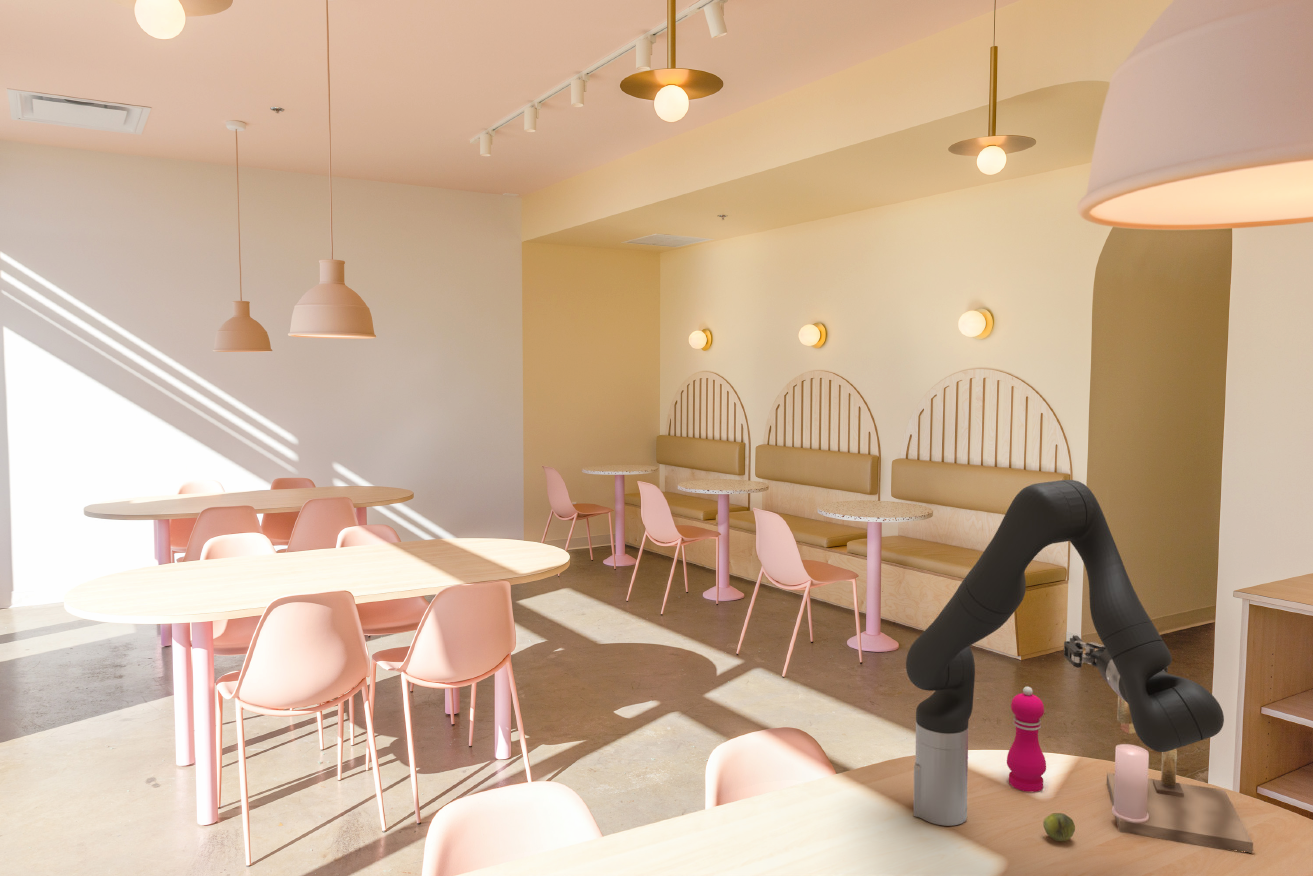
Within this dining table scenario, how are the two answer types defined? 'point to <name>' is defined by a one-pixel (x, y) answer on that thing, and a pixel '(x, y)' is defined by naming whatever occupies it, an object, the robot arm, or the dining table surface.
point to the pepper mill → (1026, 743)
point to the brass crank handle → (1167, 757)
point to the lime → (1059, 826)
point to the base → (1189, 816)
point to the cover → (1131, 783)
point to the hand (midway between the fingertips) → (1101, 642)
